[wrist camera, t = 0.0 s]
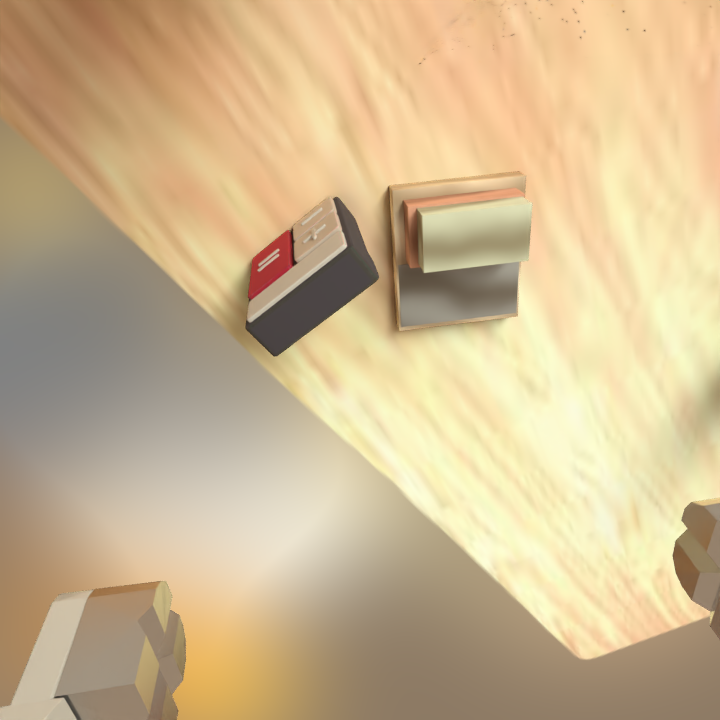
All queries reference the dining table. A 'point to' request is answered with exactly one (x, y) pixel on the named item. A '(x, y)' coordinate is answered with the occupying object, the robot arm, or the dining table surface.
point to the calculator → (307, 276)
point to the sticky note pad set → (459, 248)
